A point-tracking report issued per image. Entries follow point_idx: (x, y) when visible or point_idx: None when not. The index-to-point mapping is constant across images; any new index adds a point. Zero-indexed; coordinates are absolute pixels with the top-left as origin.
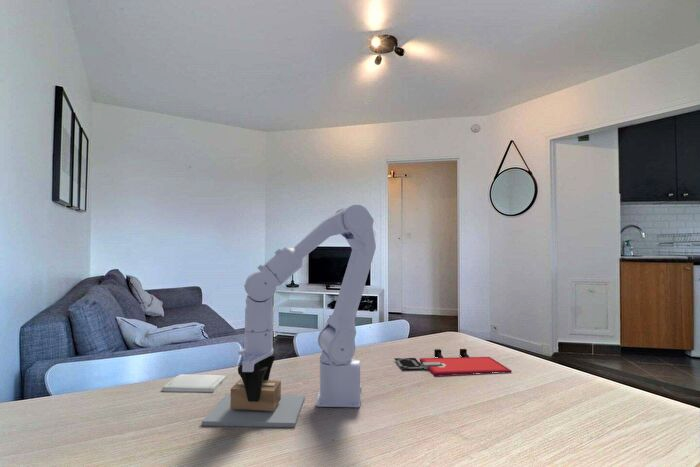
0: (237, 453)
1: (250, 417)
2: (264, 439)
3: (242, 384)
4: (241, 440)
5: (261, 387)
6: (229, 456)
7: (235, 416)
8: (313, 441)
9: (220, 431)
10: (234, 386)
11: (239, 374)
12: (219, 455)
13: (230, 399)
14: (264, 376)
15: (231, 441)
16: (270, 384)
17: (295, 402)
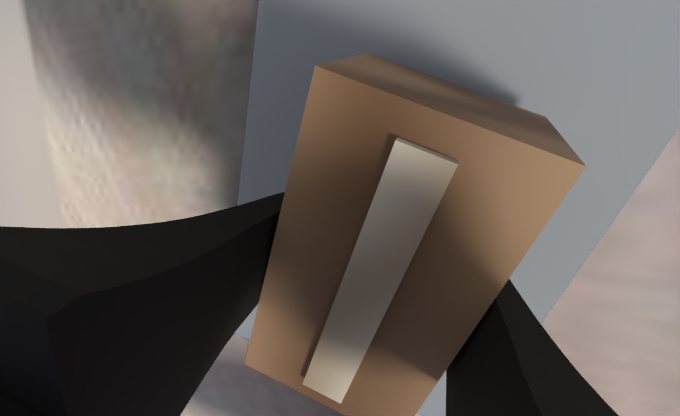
0: (79, 114)
1: (283, 174)
2: (162, 211)
3: (375, 185)
4: (152, 126)
5: (242, 318)
6: (60, 85)
7: (308, 92)
8: None
9: (218, 14)
10: (367, 102)
11: (20, 229)
12: (58, 43)
13: (613, 26)
14: (459, 389)
15: (143, 84)
16: (324, 375)
17: None
